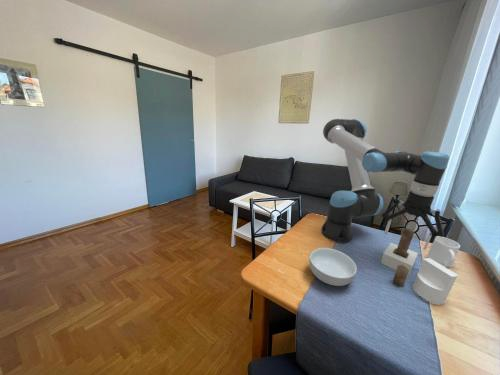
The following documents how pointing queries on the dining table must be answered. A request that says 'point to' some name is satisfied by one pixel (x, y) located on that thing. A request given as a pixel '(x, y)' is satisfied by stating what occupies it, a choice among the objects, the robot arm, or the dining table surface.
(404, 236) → the long dowel
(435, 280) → the base with upright slab
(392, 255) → the hole block
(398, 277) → the short dowel
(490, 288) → the dining table surface
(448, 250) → the mug
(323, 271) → the cereal bowl
